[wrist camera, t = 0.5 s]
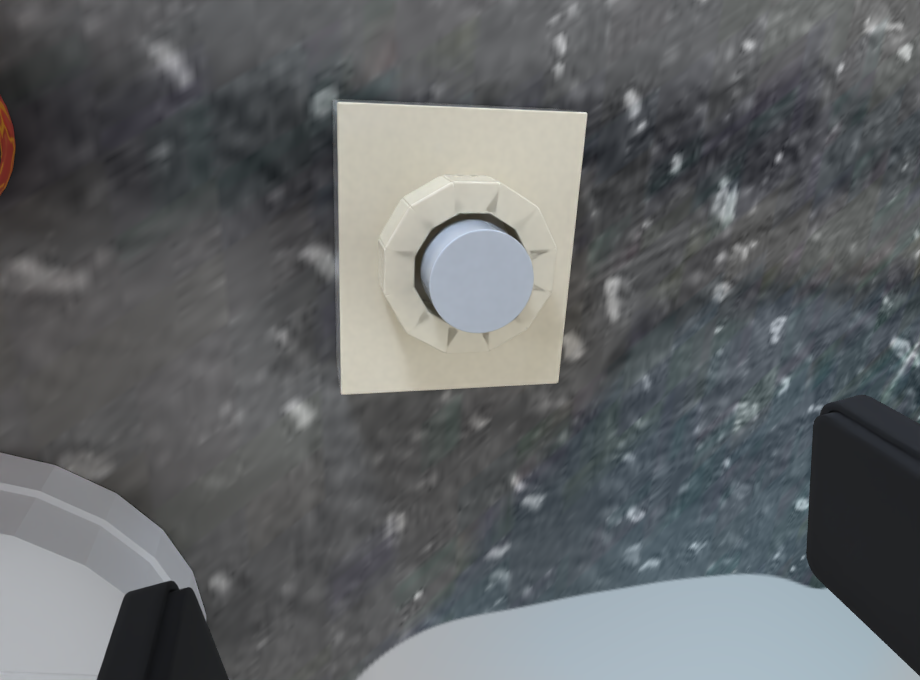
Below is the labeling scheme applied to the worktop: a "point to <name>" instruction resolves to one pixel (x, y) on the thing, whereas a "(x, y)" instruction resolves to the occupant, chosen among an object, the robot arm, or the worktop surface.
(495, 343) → the button base
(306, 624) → the worktop surface
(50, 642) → the dish
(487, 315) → the pale blue cylinder
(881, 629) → the robot arm
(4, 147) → the canned food
